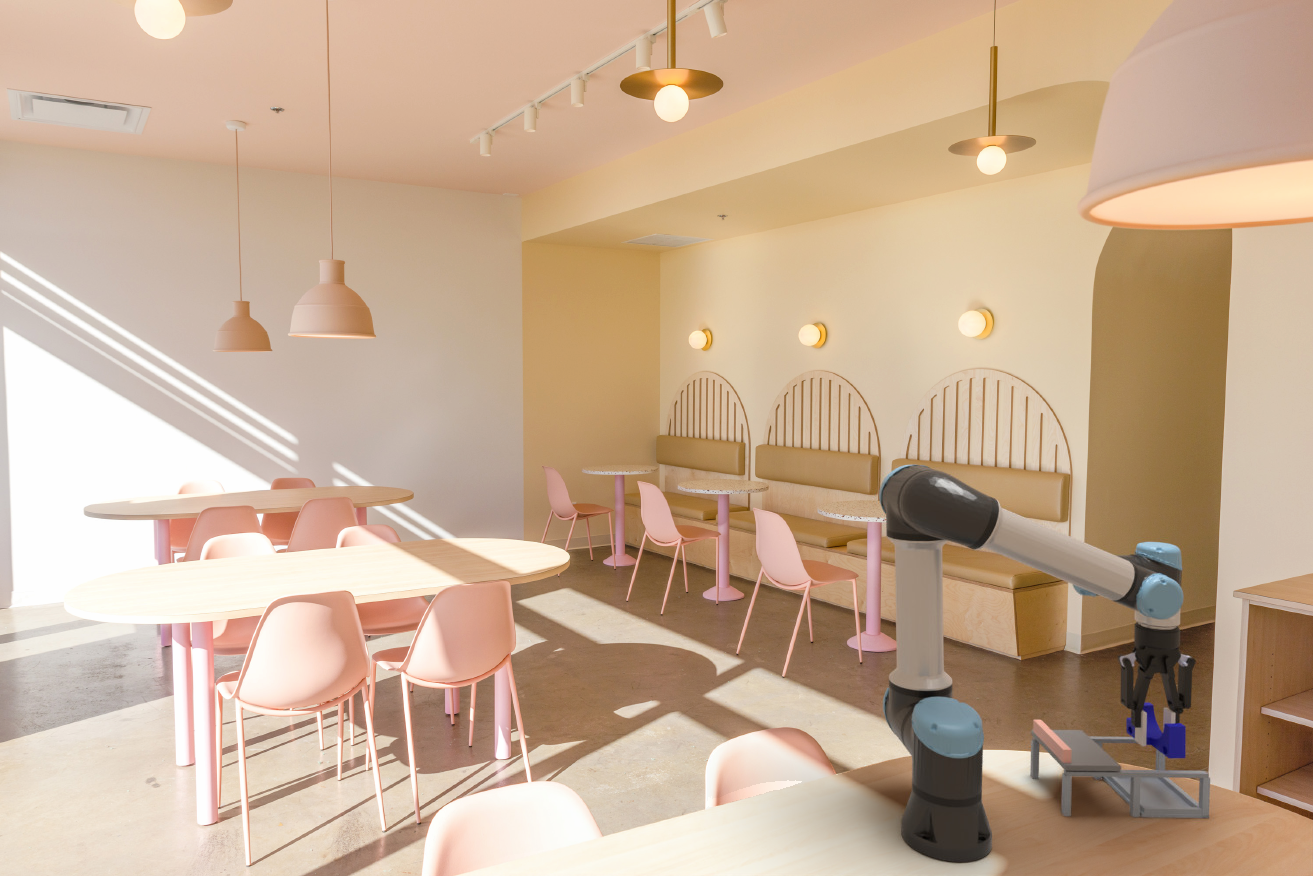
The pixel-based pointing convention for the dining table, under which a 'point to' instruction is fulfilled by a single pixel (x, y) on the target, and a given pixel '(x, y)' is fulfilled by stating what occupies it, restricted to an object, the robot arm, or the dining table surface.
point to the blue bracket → (1162, 734)
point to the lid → (1073, 749)
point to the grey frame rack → (1140, 786)
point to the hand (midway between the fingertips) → (1154, 743)
